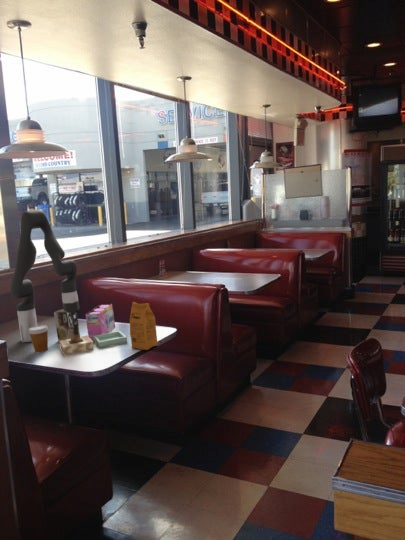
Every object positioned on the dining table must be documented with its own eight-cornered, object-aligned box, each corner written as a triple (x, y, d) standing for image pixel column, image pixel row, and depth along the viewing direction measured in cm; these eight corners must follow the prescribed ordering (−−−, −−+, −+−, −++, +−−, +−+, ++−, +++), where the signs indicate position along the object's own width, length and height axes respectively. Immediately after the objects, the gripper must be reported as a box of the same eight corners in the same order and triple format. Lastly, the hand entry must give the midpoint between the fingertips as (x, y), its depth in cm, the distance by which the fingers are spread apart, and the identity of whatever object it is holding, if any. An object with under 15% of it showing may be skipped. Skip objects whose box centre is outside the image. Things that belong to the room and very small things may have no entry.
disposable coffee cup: (40, 354, 244) (36, 330, 242) (27, 352, 249) (23, 329, 248) (55, 348, 252) (51, 325, 250) (42, 346, 257) (39, 324, 256)
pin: (73, 351, 245) (69, 327, 243) (71, 348, 249) (68, 325, 247) (82, 349, 247) (79, 325, 245) (80, 346, 251) (77, 323, 249)
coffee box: (78, 338, 268) (74, 309, 265) (70, 341, 262) (66, 312, 259) (65, 337, 271) (61, 308, 269) (57, 341, 266) (53, 311, 263)
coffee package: (143, 342, 249) (138, 299, 245) (160, 345, 241) (156, 301, 237) (128, 348, 241) (123, 304, 238) (145, 351, 233) (140, 306, 230)
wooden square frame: (64, 355, 239) (63, 347, 238) (60, 348, 252) (59, 340, 251) (93, 349, 244) (92, 341, 244) (88, 342, 257) (87, 335, 256)
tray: (99, 348, 245) (99, 342, 245) (94, 341, 258) (93, 336, 258) (127, 342, 251) (126, 336, 250) (120, 336, 264) (119, 330, 263)
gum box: (103, 326, 288) (100, 303, 286) (116, 325, 287) (113, 302, 285) (88, 339, 265) (84, 314, 263) (102, 338, 263) (99, 313, 261)
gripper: (60, 299, 249) (65, 331, 252) (64, 304, 236) (69, 337, 239) (75, 297, 252) (79, 328, 254) (80, 301, 239) (85, 334, 242)
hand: (74, 332), depth 247 cm, fingers open, 8 cm apart
